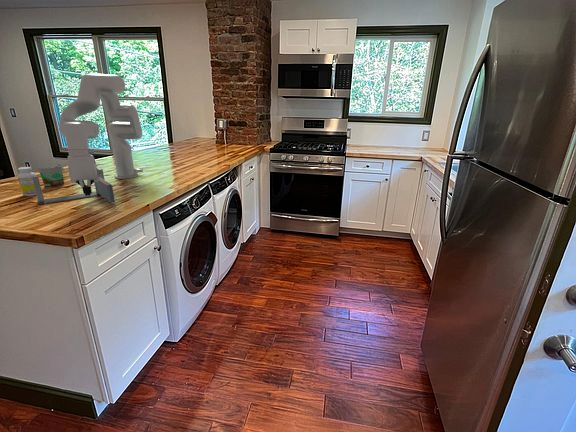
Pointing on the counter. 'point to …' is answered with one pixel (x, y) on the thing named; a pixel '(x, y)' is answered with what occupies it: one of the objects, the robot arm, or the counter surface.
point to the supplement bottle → (26, 181)
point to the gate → (105, 190)
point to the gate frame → (60, 199)
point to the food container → (52, 176)
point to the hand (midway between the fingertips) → (88, 194)
